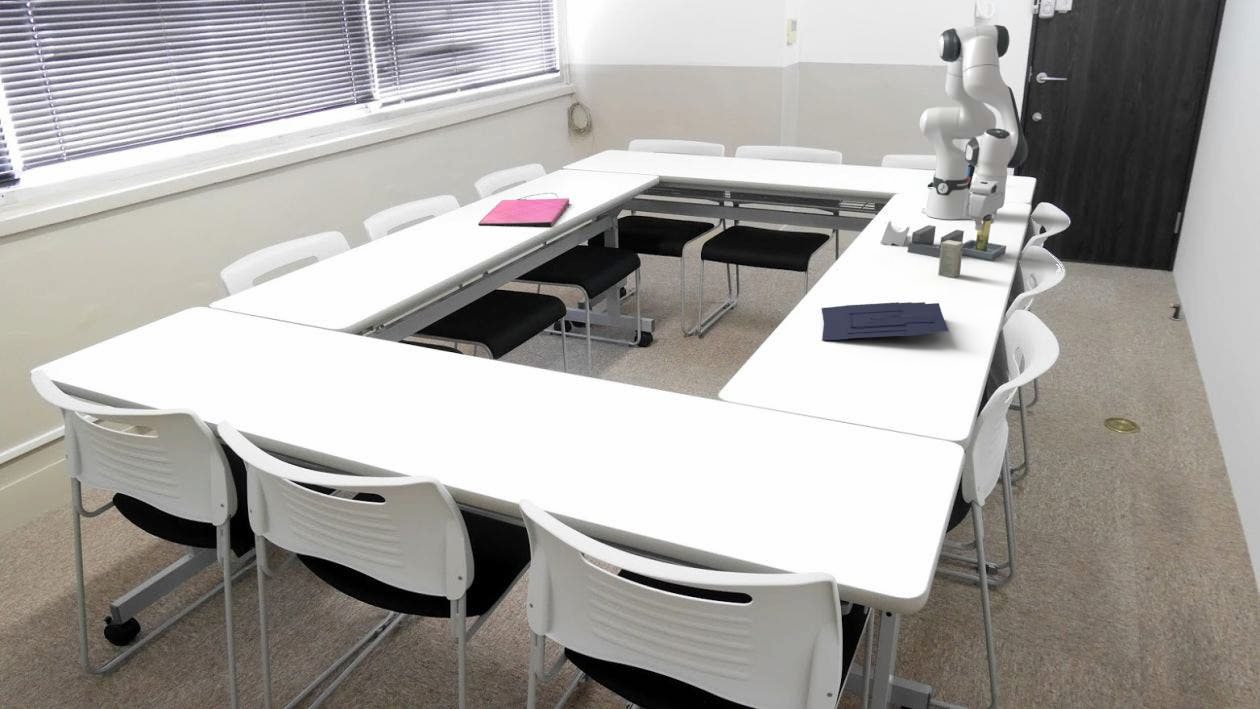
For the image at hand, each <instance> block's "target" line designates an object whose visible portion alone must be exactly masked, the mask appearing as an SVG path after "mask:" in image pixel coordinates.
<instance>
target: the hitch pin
mask: <svg viewBox="0 0 1260 709" xmlns="http://www.w3.org/2000/svg"><path fill="white" fill-rule="evenodd" d="M991 219H992V215H991V214H988V215H986V216H984V217H983V220H982V224H983V228H982V230H977V232H976V239H975V240H976V246H975V250H978V251H984V252H987V247H988V243H989V240H990V239H989V238H990V233H991V232H990V231H991V225H992V224H991Z"/></svg>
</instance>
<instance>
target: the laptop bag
mask: <svg viewBox="0 0 1260 709" xmlns="http://www.w3.org/2000/svg"><path fill="white" fill-rule="evenodd" d="M547 194H548V192H544V193H543V195H547ZM551 194H553V195H555V196H556V197H557V198H545V199H544V198H542V199H541V198H540V199H539V198H538V199H537V198H536V199H527V197H532V196H534V194H533V195H527V196H525V197H521V198H517V199H502V200H501V201H499V203H498V204H496V205H495V206H494V207H493V208H492V209H491V210H490V211H489V212H488V213H487V214H486V215H485V216H484V217H483V218H482V219H481V220H480V221H479V222H478V223H477V224H478V226H479V227H481V226H482V227H483V226H484V227H528V228H529V227H531V228H552V227H553V225H554V224H555V223H556V222H557V221H558V219H559V218H560V217H561V216H562V214H563V213H564V212H565V210H566V209H567V208H568V206H569V205H570V198H567V197H565V198H564V197H563V198H559V197H558V195H557V194H556V193H554V192H551ZM537 195H540V193H538V194H537V193H536V194H535V196H537Z"/></svg>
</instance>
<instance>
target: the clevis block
mask: <svg viewBox="0 0 1260 709" xmlns="http://www.w3.org/2000/svg"><path fill="white" fill-rule="evenodd" d="M936 228H937V226H936V225H930V224H928V225H926V226H924V227H921V228H919V229H917V230H915V231H913V232H912V235H911V242H908V245H907V253H910V254H917V255H921V256H926V257H931V258H937V259H940V252H941V243H942V242H944V241H947V240H952V241H958V242H963V240H964V234H965V231H964V230H961V229H954V230H953V231H951V232H949V233H947V234H945V235H943V236H942V237H940V244H939V246H934V245H935V244H934V242H935V236H936ZM963 243H964V242H963Z"/></svg>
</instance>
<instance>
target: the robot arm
mask: <svg viewBox="0 0 1260 709" xmlns="http://www.w3.org/2000/svg"><path fill="white" fill-rule="evenodd" d="M939 37H940V38H939V40H938V44H937V49H938V50H937V51H938V54H939V58H940V59H941V60H942V61H944V62H947V71H946V78H945V87H944V91H945V94H946V95H947V96H948V98H950V100H953V101H954V102H956V103H957V104H959V105H960V106H936V107H930V108H929V107H928V108H926V109H925V110H924V111H923V112H922V114H921V116H920V118H919V121H918V122H919V125H918V126H919V129H920V132H921V133H922V135H924V136H925V138H926V139H928V140H929V141H930V143H931V144H932V146H933V149H934V152H935V169H934V170H935V171H934V175H935V176H934V175H933V178H932V182H933V185H932V186H933V188H929V190H928V192H927V198H926V200H925V201H926V202H925V206H924V207H923V208H921V211H920V212H921V213H923V214H925V215H926V216H927V217H930V218H933V219H939V220H951V221H952V220H954V221H955V220H956V221H957V220H971V219H974V223H975V224H974V225H975V227H974V229H975V231H978V230H982V228H983V224H982V220H983V217H984V216H986V215H988V214H991V215H992V219H991V225H992V224H994V223H995V219H996V216H997V213H998V210H1000V209H1002V208H1003V207H1004V204H1005V198H1006V187H1007V186H1006V185H1007V179H1008V169H1016V168H1018V167H1019V166H1021V165H1022V164H1023V163H1024V162H1025V161H1026V160H1027V159H1028V158H1027V157H1028V155H1029V153H1028V152H1029V148H1028V144H1027V140H1026V138H1025V135H1024V133H1023V129H1022V125H1021V120H1020V115H1019V111H1018V106H1017V103H1016V99H1015V96H1014V92H1013V90H1012V88H1011V87H1010V86H1008V85H1007V84H1006V82H1005V81H1004V79H1003V77H1002V75H1001V70H1000V68H1001V66H1000V58H1001V57H1004V55H1006V53H1007V52H1008V49H1009V46H1010V42H1011V39H1010V34H1009V30H1008V28H1007V27H1006V26H1004V25H1000V24H999V25H998V24H994V25H988V24H987V25H984V24H983V25H981V24H980V25H979V24H978V25H973V26H966V27H964V26H963V27H959V28H949V29H946V30H944V31H943V32H942V33H941V34H940V36H939ZM986 104H987V105H988V106H991V107H992V108H995V109H996V111H998V113H999V114H1000V116H1001V121H1002V125H1003V129H1002V128H996V127H997V117H996V115H995V113H994V112H993V110H991V109H990V108H988V106H987V105H986ZM954 140H969V141H967V143H966V145H965V151H964V150H963V149H961V148H959V147H958V146H956V145H955V144H954V142H953V141H954ZM968 164H969V165H971V166H974V167H975V168H977V171H976V176H975V179H974V181H973V182H972V183H971V186H970V188H969V189H967V187H968V182H970V177H967V171H968Z"/></svg>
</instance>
